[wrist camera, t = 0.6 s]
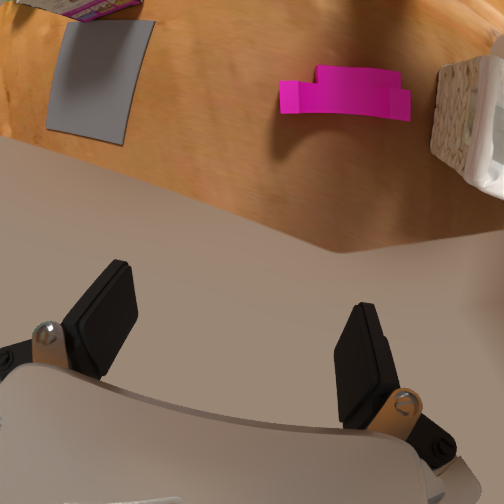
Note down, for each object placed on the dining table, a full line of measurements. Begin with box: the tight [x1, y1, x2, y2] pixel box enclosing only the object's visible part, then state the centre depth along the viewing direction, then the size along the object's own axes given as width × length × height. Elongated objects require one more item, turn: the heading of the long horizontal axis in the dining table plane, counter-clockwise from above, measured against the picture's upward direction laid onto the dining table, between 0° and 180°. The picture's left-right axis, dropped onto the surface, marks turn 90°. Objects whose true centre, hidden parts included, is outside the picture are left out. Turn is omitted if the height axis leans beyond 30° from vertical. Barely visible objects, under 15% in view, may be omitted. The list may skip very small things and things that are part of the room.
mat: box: [46, 20, 156, 145], centre depth 33 cm, size 20×18×1 cm
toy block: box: [279, 65, 411, 121], centre depth 29 cm, size 15×6×8 cm, turn 93°
